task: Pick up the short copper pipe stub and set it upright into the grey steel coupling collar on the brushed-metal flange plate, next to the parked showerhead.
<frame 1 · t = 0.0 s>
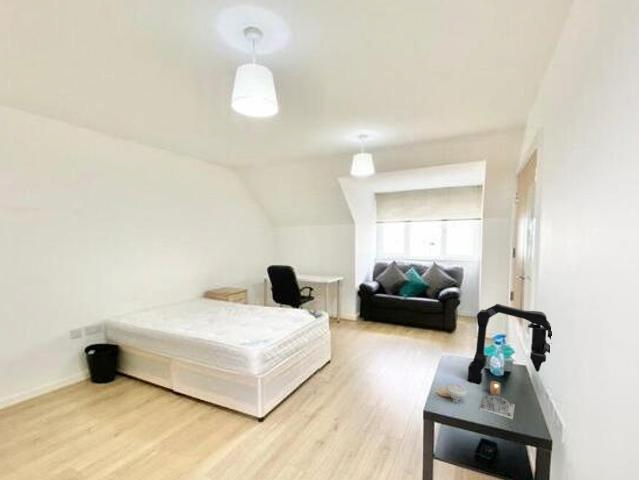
hand: (537, 368, 160), 15 cm above the table, fingers open, 9 cm apart
pipe stub: (494, 394, 163), on the table
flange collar: (497, 407, 151), on the table
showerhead: (455, 401, 156), on the table
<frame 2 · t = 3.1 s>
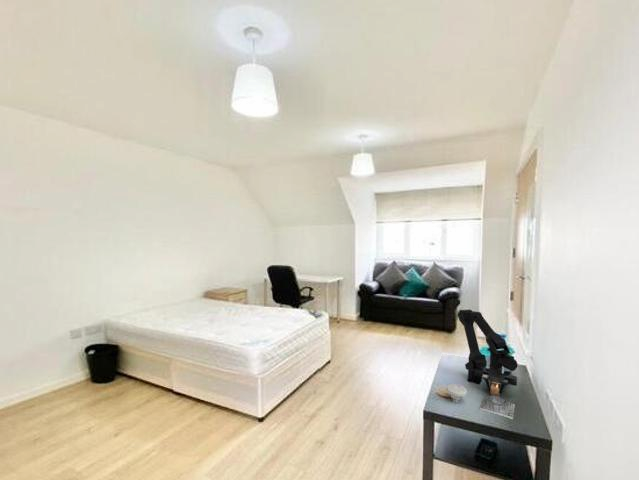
hand: (494, 392, 163), 1 cm above the table, fingers closed on pipe stub, 4 cm apart
pipe stub: (494, 394, 163), on the table, touching gripper
everything else where it was.
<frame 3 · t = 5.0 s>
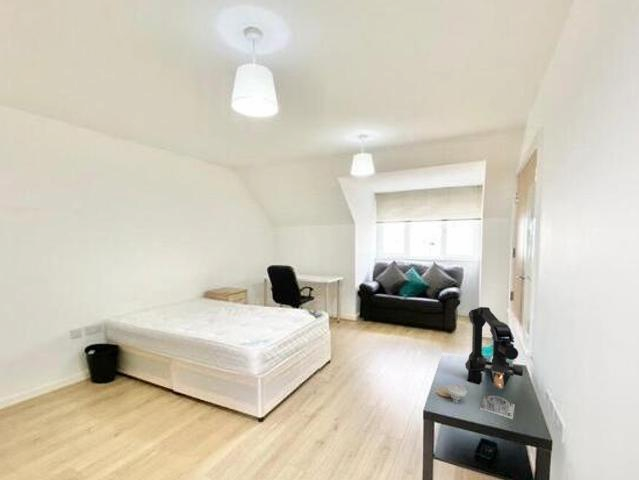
hand: (498, 384, 150), 11 cm above the table, fingers closed on pipe stub, 4 cm apart
pipe stub: (498, 386, 150), point 10 cm above the table, touching gripper
everything else where it was.
when the fingers open (4 cm above the table, at t = 7.1 s): pipe stub drops 2 cm, resting on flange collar.
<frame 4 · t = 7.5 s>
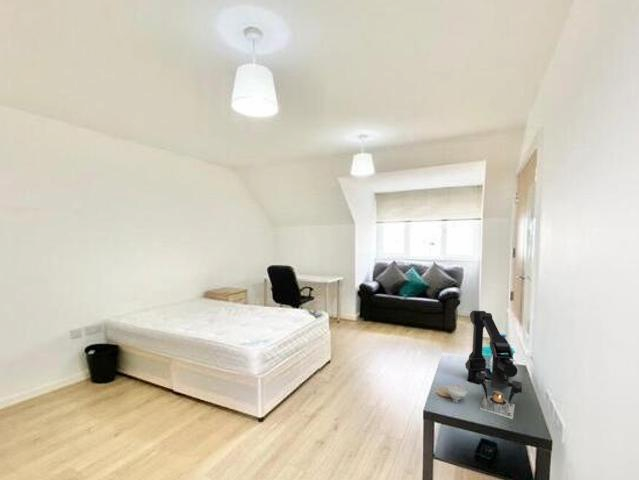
hand: (497, 399, 150), 4 cm above the table, fingers open, 9 cm apart
pipe stub: (497, 405, 151), point 1 cm above the table, touching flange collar
everything else where it was.
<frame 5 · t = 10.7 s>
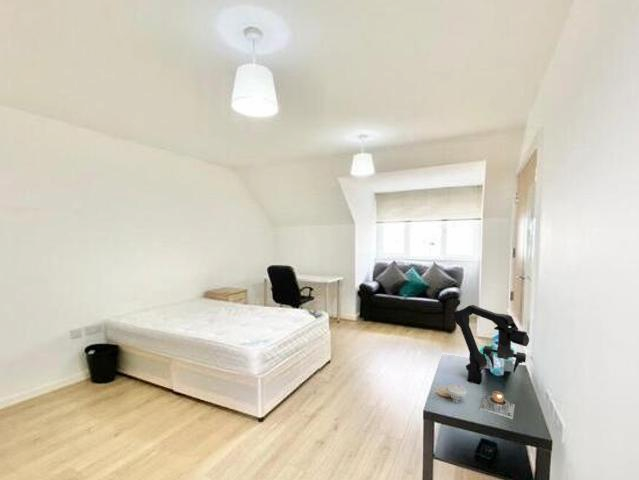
hand: (503, 370, 164), 12 cm above the table, fingers open, 9 cm apart
nothing on the table moved.
at the end: pipe stub 0.0 cm off-centre on the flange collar, point 0.8 cm above the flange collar's base; pipe stub tilted 0°; the gripper is holding nothing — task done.
